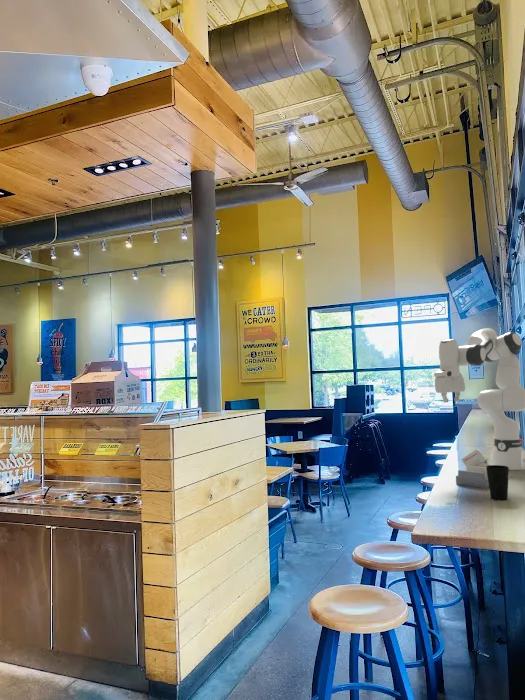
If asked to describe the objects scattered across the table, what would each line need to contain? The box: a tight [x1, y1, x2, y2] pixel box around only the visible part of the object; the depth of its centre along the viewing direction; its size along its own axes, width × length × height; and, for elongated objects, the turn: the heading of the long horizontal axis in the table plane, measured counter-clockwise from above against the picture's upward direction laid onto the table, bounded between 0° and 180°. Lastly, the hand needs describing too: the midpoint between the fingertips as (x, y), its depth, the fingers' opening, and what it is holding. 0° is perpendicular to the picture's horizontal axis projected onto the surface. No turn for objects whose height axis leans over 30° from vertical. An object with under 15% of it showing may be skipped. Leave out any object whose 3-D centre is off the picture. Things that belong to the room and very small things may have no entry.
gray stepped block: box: [455, 469, 490, 489], centre depth 219 cm, size 16×13×6 cm
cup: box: [486, 465, 510, 502], centre depth 191 cm, size 8×8×12 cm
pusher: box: [465, 465, 488, 479], centre depth 217 cm, size 5×10×7 cm, turn 39°
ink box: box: [461, 448, 491, 467], centre depth 223 cm, size 9×5×12 cm
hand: (451, 401), depth 243 cm, fingers open, 8 cm apart
